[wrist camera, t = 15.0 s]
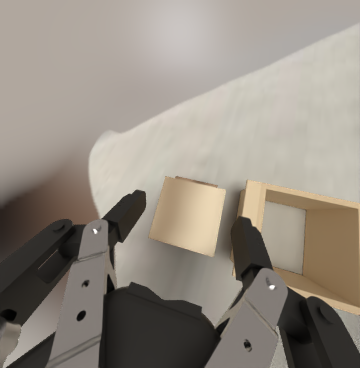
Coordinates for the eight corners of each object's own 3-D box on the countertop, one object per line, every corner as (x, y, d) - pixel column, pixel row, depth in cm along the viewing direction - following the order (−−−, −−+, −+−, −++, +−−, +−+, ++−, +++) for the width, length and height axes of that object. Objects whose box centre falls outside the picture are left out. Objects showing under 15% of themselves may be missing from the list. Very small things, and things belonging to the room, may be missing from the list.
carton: (322, 209, 25) (381, 208, 17) (319, 285, 22) (388, 324, 15) (231, 188, 27) (247, 179, 19) (219, 255, 25) (233, 276, 17)
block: (204, 203, 26) (225, 189, 10) (198, 228, 25) (213, 257, 9) (180, 197, 26) (165, 176, 11) (174, 221, 25) (148, 237, 10)
